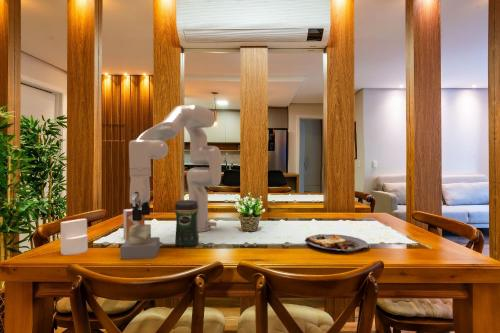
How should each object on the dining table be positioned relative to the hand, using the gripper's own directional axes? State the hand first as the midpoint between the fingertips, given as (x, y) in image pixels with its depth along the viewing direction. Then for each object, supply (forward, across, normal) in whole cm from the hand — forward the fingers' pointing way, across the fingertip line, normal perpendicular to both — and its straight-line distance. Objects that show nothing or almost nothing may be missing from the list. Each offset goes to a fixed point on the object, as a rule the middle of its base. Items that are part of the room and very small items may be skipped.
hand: (141, 217), depth 116 cm
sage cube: (+9, +1, 0) cm, 9 cm away
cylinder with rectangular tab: (+14, -3, -27) cm, 31 cm away
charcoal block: (+14, +1, 0) cm, 14 cm away
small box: (+14, -23, -11) cm, 30 cm away
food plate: (+15, -8, +77) cm, 78 cm away
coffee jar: (+14, -12, +15) cm, 24 cm away
